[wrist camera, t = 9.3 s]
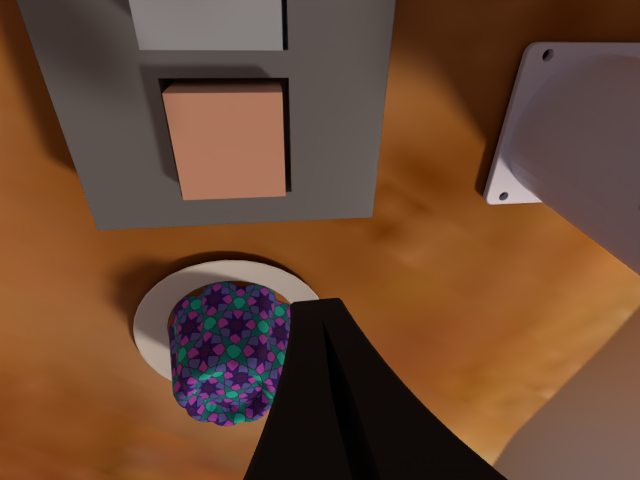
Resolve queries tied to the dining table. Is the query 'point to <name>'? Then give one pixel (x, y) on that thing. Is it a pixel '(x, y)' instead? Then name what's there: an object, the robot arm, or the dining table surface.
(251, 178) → the key terracotta
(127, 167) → the keypad board
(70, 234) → the dining table surface
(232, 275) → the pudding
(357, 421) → the robot arm
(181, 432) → the dining table surface
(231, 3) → the key slate
